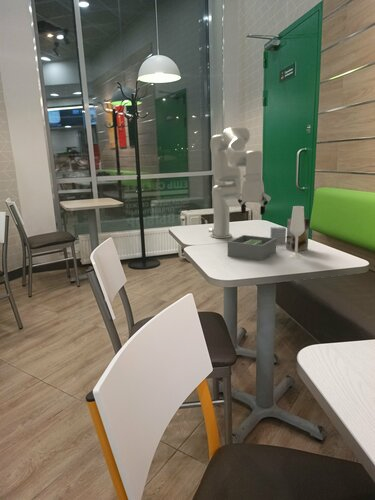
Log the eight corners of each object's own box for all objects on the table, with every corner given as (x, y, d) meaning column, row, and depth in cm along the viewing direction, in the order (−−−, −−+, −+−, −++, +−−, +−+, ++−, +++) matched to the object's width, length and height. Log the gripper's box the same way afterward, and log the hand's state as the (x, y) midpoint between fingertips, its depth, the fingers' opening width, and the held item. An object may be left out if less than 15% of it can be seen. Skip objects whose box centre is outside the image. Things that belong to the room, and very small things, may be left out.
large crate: (227, 256, 174) (227, 241, 172) (243, 248, 189) (243, 235, 187) (261, 260, 164) (262, 245, 163) (276, 252, 179) (276, 238, 177)
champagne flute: (304, 255, 171) (307, 206, 165) (301, 259, 166) (304, 207, 160) (290, 254, 175) (292, 205, 169) (286, 257, 169) (289, 207, 163)
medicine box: (284, 241, 201) (284, 226, 199) (285, 243, 197) (286, 228, 195) (270, 241, 202) (270, 226, 200) (271, 243, 198) (271, 228, 195)
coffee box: (292, 251, 179) (293, 220, 175) (285, 248, 185) (287, 218, 182) (308, 249, 182) (309, 218, 178) (301, 247, 188) (302, 217, 184)
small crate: (242, 253, 174) (242, 243, 173) (250, 248, 182) (250, 239, 181) (253, 254, 171) (253, 244, 169) (261, 250, 179) (261, 240, 177)
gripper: (233, 178, 169) (233, 213, 173) (267, 178, 160) (266, 216, 164) (240, 177, 175) (240, 211, 179) (274, 177, 166) (272, 213, 170)
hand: (252, 213), depth 172 cm, fingers open, 9 cm apart
